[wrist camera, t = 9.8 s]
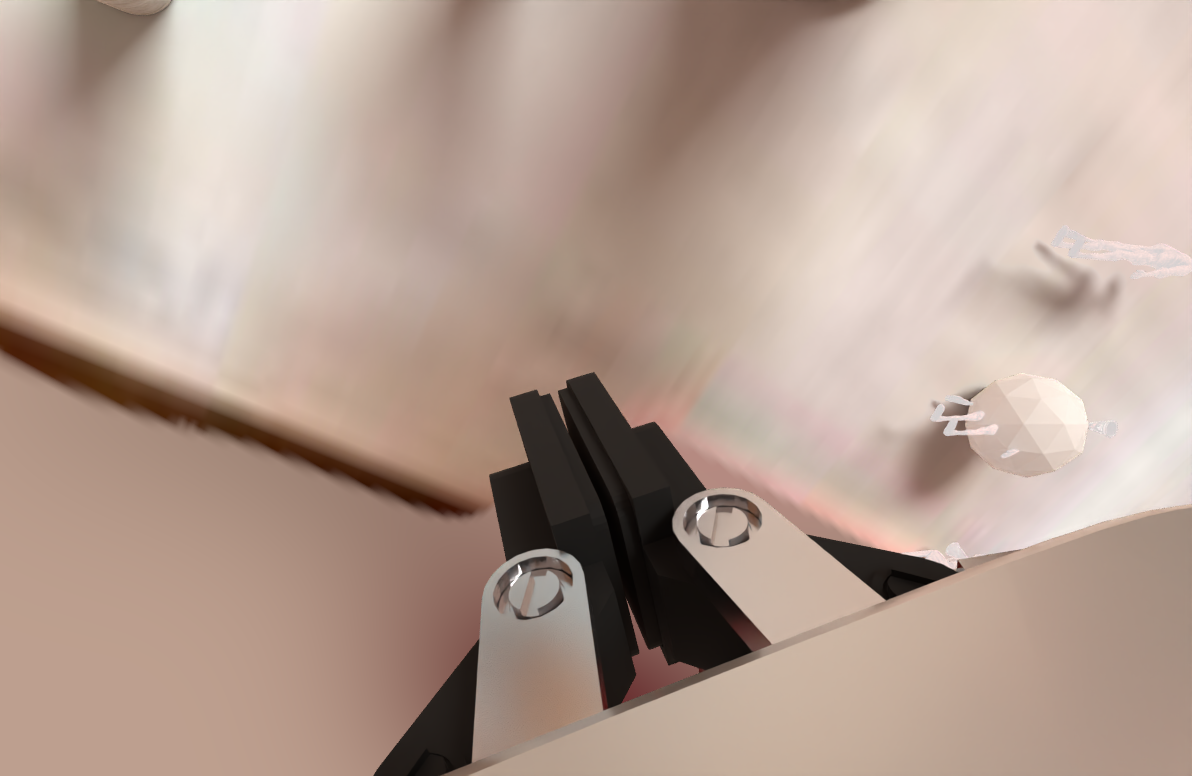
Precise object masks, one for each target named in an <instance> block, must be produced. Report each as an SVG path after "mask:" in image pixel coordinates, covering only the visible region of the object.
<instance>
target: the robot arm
mask: <svg viewBox="0 0 1192 776" xmlns="http://www.w3.org/2000/svg"><path fill="white" fill-rule="evenodd" d="M566 383H567V388H566V389H562V390H559V391H558V394H559V398H560V402H561V406H562V410H563V414H564V418H565V421H566V425H567V429H568V431H567V429H566V427H565V425H564V423H563V420H562V418H561V416H560V414H559V412H558V410H557V408H556V405H555V403H554V401H553V399H552V397H551V395H550V393H549V394H546V395H543V396H539V393H538V391H537V390H534V391H530V392H527V393H524V394H521V395H517V396H514V397H511V398H510V402H511V405H512V408H513V412H514V415H515V418H516V421H517V425H518V428H519V431H520V435H521V438H522V441H523V444H524V448H525V451H526V454H527V457H528V461H529V462H527V463H524V464H521V465H518V466H515V467H512V468H509V469H506V470H502V471H499V472H496V473H493V474H490V475H489V477H490V483H491V488H492V492H493V497H494V502H495V507H496V512H497V517H498V522H499V526H500V531H501V537H502V542H503V547H504V551H505V556H506V561H507V562H505V563H504V564H503V565H502V566H501V567H500V568H498V569H497V570H496V571H495V572H494V573H493V574H492V576H491V578H490V579H489V581H488V582H487V584H486V585H485V589H484V593H483V596H482V607H481V622H480V638H479V640H478V641H477V642H476V644H475V645H474V646H473V647H472V649H471V650H470V651H469V653H468V654H467V655H466V656H465V658H464V659H463V660H462V661H461V663H460V664H459V665H458V667H457V668H456V669H455V670H454V672H453V673H452V674H451V676H450V677H449V678H448V679H447V681H446V682H445V683H444V684H443V686H442V687H441V688H440V690H439V691H438V692H437V693H436V695H435V696H434V697H433V699H432V700H431V701H430V703H429V704H428V705H427V707H426V708H425V709H424V710H423V711H422V713H421V714H420V715H419V717H418V718H417V719H416V720H415V722H414V723H413V724H412V725H411V727H410V728H409V729H408V731H407V732H406V733H405V734H404V736H403V737H402V738H401V739H400V741H399V742H398V743H397V745H396V746H395V747H394V748H393V750H392V751H391V752H390V754H389V755H388V756H387V757H386V759H385V760H384V761H383V762H382V764H381V765H380V767H379V768H378V769H377V771H376V772H375V774H374V776H1192V504H1189V505H1182V506H1176V507H1169V508H1162V509H1156V510H1150V511H1146V512H1142V513H1138V514H1134V515H1129V516H1125V517H1121V518H1117V519H1113V520H1109V521H1104V522H1101V523H1098V524H1095V525H1092V526H1089V527H1086V528H1084V529H1081V530H1078V531H1075V532H1072V533H1068V534H1065V535H1062V536H1059V537H1055V538H1052V539H1049V540H1047V541H1044V542H1041V543H1038V544H1036V545H1033V546H1030V547H1027V548H1025V549H1021V550H1015V551H1008V552H1002V553H996V554H990V555H984V556H978V557H971V558H965V559H959V560H957V569H951V568H949V567H947V566H945V565H944V564H941V563H938V562H935V561H932V560H928V559H925V558H921V557H916V556H911V555H906V554H901V553H896V552H891V551H886V550H881V549H876V548H871V547H866V546H861V545H856V544H851V543H846V542H841V541H836V540H831V539H826V538H821V537H816V536H811V535H806V534H804V533H803V532H802V531H801V530H799V529H798V528H797V527H796V526H795V525H793V524H792V523H791V522H790V521H789V520H787V519H786V518H785V517H784V516H782V515H781V514H780V513H779V512H777V511H776V510H775V509H774V508H773V507H772V506H770V505H769V504H768V503H767V502H765V501H764V500H763V499H761V498H760V497H758V496H756V495H755V494H753V493H751V492H747V491H744V490H741V489H737V488H716V489H708V490H706V488H705V487H704V486H703V484H702V483H701V482H700V481H699V479H698V478H697V476H696V475H695V474H694V472H693V471H692V470H691V469H690V467H689V466H688V464H687V463H686V462H685V461H684V459H683V458H682V457H681V455H680V454H679V452H678V451H677V450H676V449H675V447H674V446H673V444H672V443H671V442H670V440H669V439H668V438H667V437H666V435H665V434H664V433H663V431H662V430H661V429H660V427H659V426H658V425H657V424H656V423H655V422H651V423H648V424H645V425H642V426H639V427H635V428H631V427H630V425H629V424H628V422H627V421H626V419H625V418H624V416H623V415H622V413H621V412H620V410H619V409H618V407H617V406H616V404H615V403H614V401H613V400H612V398H611V397H610V395H609V394H608V392H607V391H606V389H605V388H604V386H603V385H602V383H601V382H600V380H599V379H598V377H597V376H596V374H595V373H594V372H593V373H589V374H586V375H583V376H579V377H576V378H573V379H570V380H567V381H566ZM626 599H627V600H626ZM627 601H628V603H629V606H630V608H631V610H632V613H633V615H634V617H635V620H636V622H637V624H638V627H639V629H640V631H641V634H642V636H643V638H644V640H645V643H646V645H647V647H648V649H653V648H656V647H658V646H660V647H661V649H662V652H663V654H664V656H665V658H666V661H667V663H668V665H671V664H674V663H677V662H683V663H686V664H689V665H692V666H695V667H697V668H698V669H699V673H698V674H696V675H694V676H691V677H688V678H686V679H683V680H680V681H678V682H675V683H673V684H670V685H668V686H665V687H663V688H660V689H658V690H655V691H652V692H650V693H647V694H645V695H642V696H640V697H637V698H635V699H632V700H630V701H627V702H624V703H622V701H623V699H624V697H625V695H626V694H627V692H628V690H629V688H630V686H631V684H632V682H633V680H634V678H635V676H636V673H635V669H634V665H633V661H632V656H634V655H637V654H639V649H638V645H637V641H636V637H635V633H634V629H633V625H632V621H631V616H630V612H629V608H628V604H627ZM621 703H622V704H621Z"/></svg>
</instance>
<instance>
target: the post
mask: <svg viewBox="0 0 1192 776" xmlns="http://www.w3.org/2000/svg"><path fill="white" fill-rule="evenodd" d="M96 1H99V2H101V3H104V4H106V5H109V6H111V7H114V8H116V9H119V10H121V11H124V12H126V13H130V14H134V15H152V14H155V13H158V12H160V11H162V10H163V9H165V8H166V7H167V6H168V5H169V4H170V2H171V1H172V0H96Z"/></svg>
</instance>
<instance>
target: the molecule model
mask: <svg viewBox="0 0 1192 776" xmlns="http://www.w3.org/2000/svg"><path fill="white" fill-rule="evenodd" d="M1070 231H1071V232H1070ZM1073 232H1074V233H1073ZM1064 237H1067V238H1070V239H1075V240H1076V241H1075V243H1066V242H1064V241H1063V239H1064ZM1085 241H1086V242H1091V243H1085ZM1084 243H1085V244H1084ZM1051 245H1052V246H1054V247H1059V248H1071V249H1070V250H1069V253H1068V256H1070V257H1071V258H1084V259H1094V260H1109V261H1118V260H1121V259H1123V260H1128V261H1129V262H1130V263H1131V264H1133V265H1147V266H1150V267H1153V268H1155V269H1158V270H1155V271H1152V272H1147V273H1146V272H1145V271H1144V270H1136V271H1137V272H1138V273H1137V272H1134V273H1133V274H1136V275H1131V276H1132V277H1130V278H1131V279H1138V278H1141V277H1144V276H1154V277H1155V278H1163V277H1167V276H1171V275H1174V276H1179V275H1180V276H1184V275H1187V274H1189V273H1190V272H1191V271H1192V259H1191V258H1190V257H1189V256H1188V255H1186V254H1184V253H1182V252H1180V251H1178V250H1176V249H1174V248H1173V247H1171V246H1169V245H1167V244H1163V243H1160V244H1156V245H1154V246H1139V245H1130V244H1122V243H1121V242H1119V241H1104V240H1101V239H1100V240H1093V239H1091V238H1087V237H1086V236H1084V235H1081V234H1079V233H1078V232H1077V231H1074V230H1070V229H1069V226H1067V225H1063V226H1062V227H1061V229H1060V230H1059V231H1058V233H1057V235H1056V237H1055V238H1054V240H1053V241H1052V243H1051ZM1080 249H1087V250H1091V251H1099V250H1108V251H1111V252H1110V253H1108V252H1106V253H1101V254H1097V253H1091V254H1088V253H1086V254H1084V253H1082V252H1080ZM945 400H946V401H951V402H955V403H958V404H962V405H970V406H969V410H968V415H964V416H948V417H945V416H941V415H942V413H943V412H944V410H945V406H944V405H943V404H939V405H938V406H937V408H936V409H935V411H934V413H933V415H932V416H931V418H930V419H931V420H932V421H937V422H941V421H949V423H948V425H947V427H946V428H945V429H944V432H943V433H944V435H945V436H951V435H968V439H969V443H970V447H971V448H972V449H973V450H974V451H975V452H976V453H977V454H978V455H979V456H980V457H981V458H983V459H984V460H985V461H986V462H987V463H988V464H989V465H990V466H991V467H992V468H993V469H997V470H1001V471H1004V472H1008V473H1012V474H1016V475H1019V476H1023V477H1031V476H1036V475H1040V474H1045V473H1049V472H1053V471H1056V470H1057V469H1059V468H1060V467H1062V466H1064V465H1065V464H1067V463H1068V462H1070V461H1071V460H1073V459H1074V458H1076V457H1077V456H1079V455H1081V454H1082V452H1083V448H1084V444H1085V439H1086V435H1087V430H1088V429H1089V430H1092V431H1095V432H1098V433H1101V434H1104V435H1105V436H1106V437H1109V438H1112V437H1114V436H1115V435H1116V433H1117V429H1118V425H1117V423H1116V421H1114V420H1109V421H1102V422H1088V419H1087V416H1086V412H1085V408H1084V405H1083V401H1082V400H1081V399H1080V398H1079V397H1078V396H1076V395H1075V394H1074V393H1072V392H1071V391H1070V390H1069V389H1067V388H1066V387H1065V386H1064V385H1062V384H1061V383H1060V382H1059V381H1057V380H1056V379H1051V378H1046V377H1040V376H1035V375H1029V374H1024V373H1020V374H1016V375H1013V376H1009V377H1006V378H1002V379H999V380H995V381H994V382H993V383H991V384H990V385H989V386H987V387H986V388H985V389H983V390H982V391H981V392H980V393H978V394H977V395H976V396H974V397H973V398H972V399H971V402H969V401H968V400H966V399H963V398H962V397H960V396H955V395H953V396H946V397H945ZM962 420H966V423H965V427H966V430H964V431H956V430H954V429H955V427H956V425H957V422H958V421H962ZM901 554H906V555H911V556H916V557H926V558H925V559H928V560H932V561H935V562H938V563H941V564H944V565H945V566H947V567H949V568H951V569H957V568H956V567H957V560H956V562H955V561H952V562H950V561H948V560H950V559H965V558H969V557H968V556H967V555H966V554H965V553H964V551H963V550H962V549H961V548H960V545H959V544H958V543H957V542H953V543H951V544H950V545H949V546H948V547H947V549H946V554H947V555H948V556H953V557H955V558H950V559H948V560H946V559H945V557H944V556H943V554H942V553H941V552H939V551H937V550H926V551H918V552H907V553H901ZM984 555H986V554H981V555H979V554H976V555H974V556H973V557H978V556H984Z"/></svg>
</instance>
